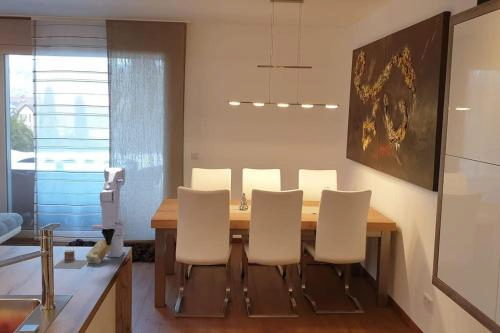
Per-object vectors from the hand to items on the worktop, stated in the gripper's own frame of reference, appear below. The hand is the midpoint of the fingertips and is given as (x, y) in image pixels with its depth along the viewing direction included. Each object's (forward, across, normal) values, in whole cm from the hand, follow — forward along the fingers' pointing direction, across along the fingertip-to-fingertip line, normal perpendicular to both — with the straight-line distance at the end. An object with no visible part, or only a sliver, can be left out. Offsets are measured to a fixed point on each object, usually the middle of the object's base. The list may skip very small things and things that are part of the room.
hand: (108, 244), depth 221 cm
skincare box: (+8, -8, +1) cm, 11 cm away
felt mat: (+10, -18, 0) cm, 20 cm away
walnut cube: (+10, -22, +7) cm, 24 cm away
